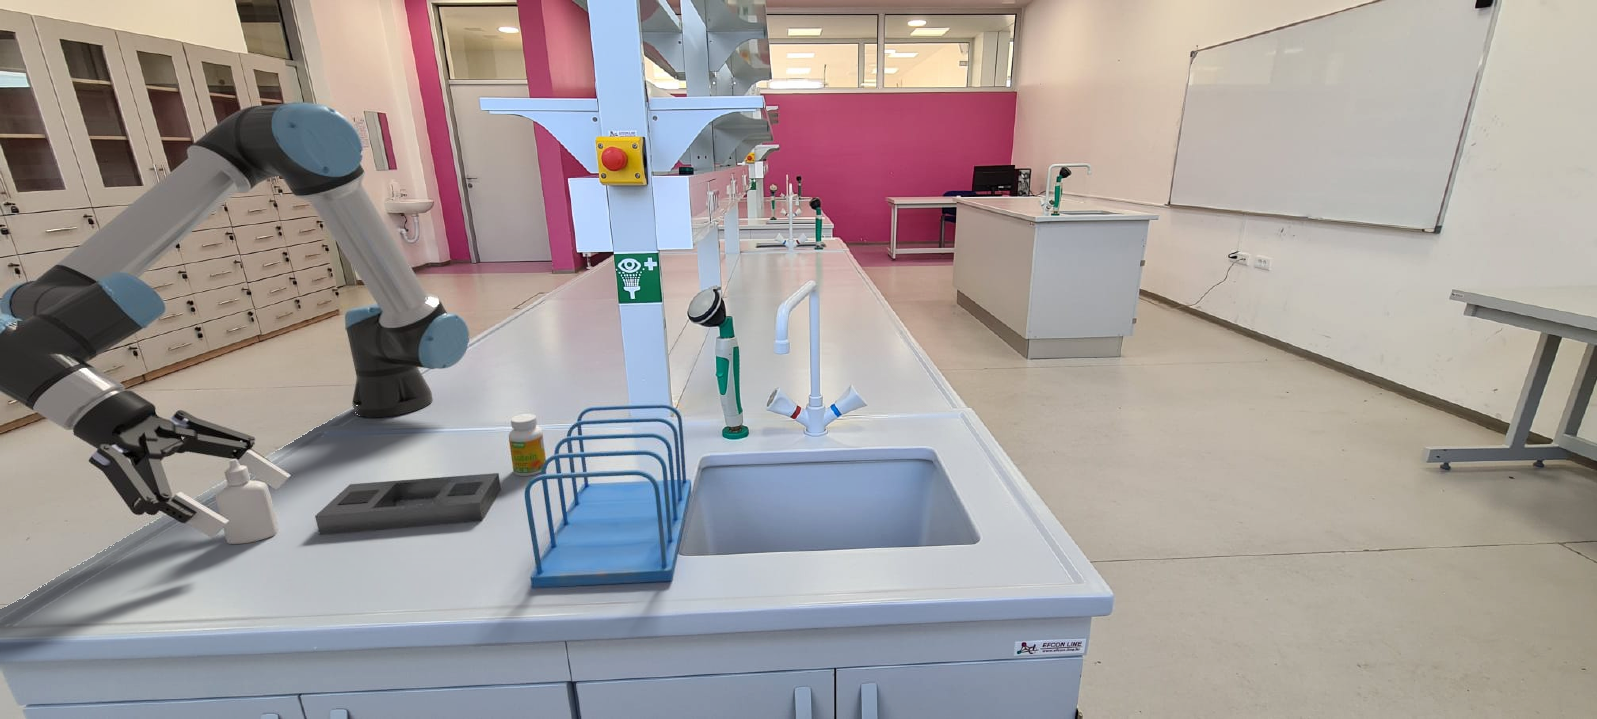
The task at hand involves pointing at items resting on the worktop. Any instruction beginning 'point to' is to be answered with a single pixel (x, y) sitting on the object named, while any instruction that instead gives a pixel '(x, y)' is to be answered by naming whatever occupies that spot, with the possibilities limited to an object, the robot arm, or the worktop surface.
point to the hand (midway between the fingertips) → (254, 504)
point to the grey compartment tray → (378, 499)
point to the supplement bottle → (526, 445)
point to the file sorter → (613, 515)
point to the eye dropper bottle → (245, 507)
